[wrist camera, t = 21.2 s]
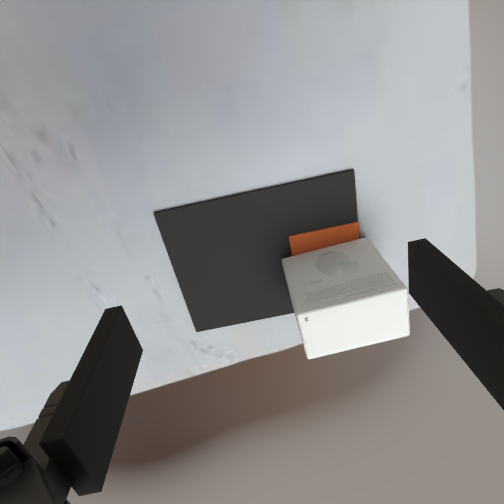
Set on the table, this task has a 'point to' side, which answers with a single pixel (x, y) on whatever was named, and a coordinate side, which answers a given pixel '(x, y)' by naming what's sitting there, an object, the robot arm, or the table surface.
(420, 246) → the robot arm
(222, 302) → the corner mat
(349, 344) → the cosmetics box
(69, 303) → the table surface
